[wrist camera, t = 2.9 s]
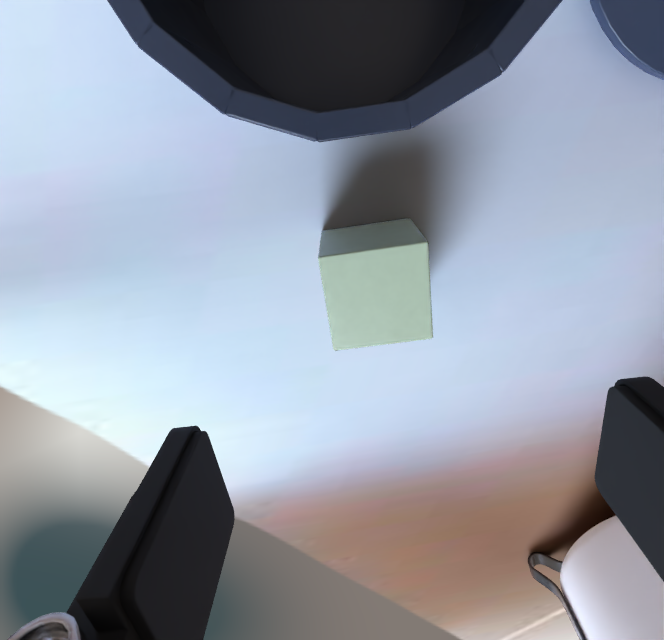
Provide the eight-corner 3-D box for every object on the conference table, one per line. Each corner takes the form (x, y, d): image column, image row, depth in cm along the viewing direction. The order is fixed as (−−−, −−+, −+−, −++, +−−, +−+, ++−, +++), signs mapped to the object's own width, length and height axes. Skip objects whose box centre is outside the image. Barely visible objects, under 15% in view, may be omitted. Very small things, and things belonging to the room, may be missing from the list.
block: (321, 230, 21) (317, 256, 17) (410, 217, 21) (428, 241, 17) (334, 310, 23) (333, 351, 19) (415, 299, 23) (433, 339, 19)
